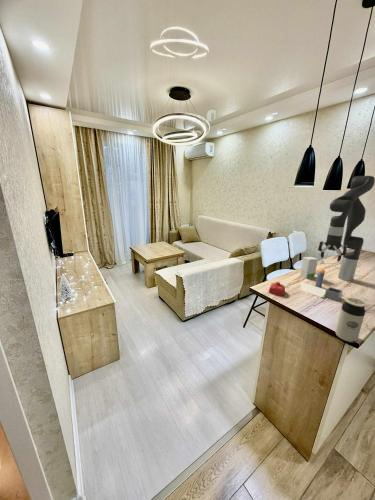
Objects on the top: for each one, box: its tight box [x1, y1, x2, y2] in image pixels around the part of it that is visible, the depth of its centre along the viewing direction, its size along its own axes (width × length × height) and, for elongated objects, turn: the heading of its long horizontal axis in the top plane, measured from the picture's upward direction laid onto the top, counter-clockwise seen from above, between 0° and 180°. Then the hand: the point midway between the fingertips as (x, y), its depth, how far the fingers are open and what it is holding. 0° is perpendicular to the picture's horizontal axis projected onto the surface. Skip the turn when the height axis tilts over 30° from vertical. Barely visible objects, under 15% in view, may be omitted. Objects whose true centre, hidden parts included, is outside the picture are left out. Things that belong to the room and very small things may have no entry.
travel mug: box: [335, 296, 367, 343], centre depth 92 cm, size 8×8×18 cm
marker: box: [314, 268, 326, 288], centre depth 141 cm, size 4×4×13 cm
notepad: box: [299, 281, 327, 300], centre depth 138 cm, size 14×18×1 cm
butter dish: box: [268, 281, 286, 297], centre depth 132 cm, size 12×12×8 cm
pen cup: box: [325, 286, 343, 302], centre depth 129 cm, size 7×7×5 cm
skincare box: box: [299, 256, 319, 279], centre depth 158 cm, size 8×7×16 cm
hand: (330, 259), depth 130 cm, fingers open, 8 cm apart
